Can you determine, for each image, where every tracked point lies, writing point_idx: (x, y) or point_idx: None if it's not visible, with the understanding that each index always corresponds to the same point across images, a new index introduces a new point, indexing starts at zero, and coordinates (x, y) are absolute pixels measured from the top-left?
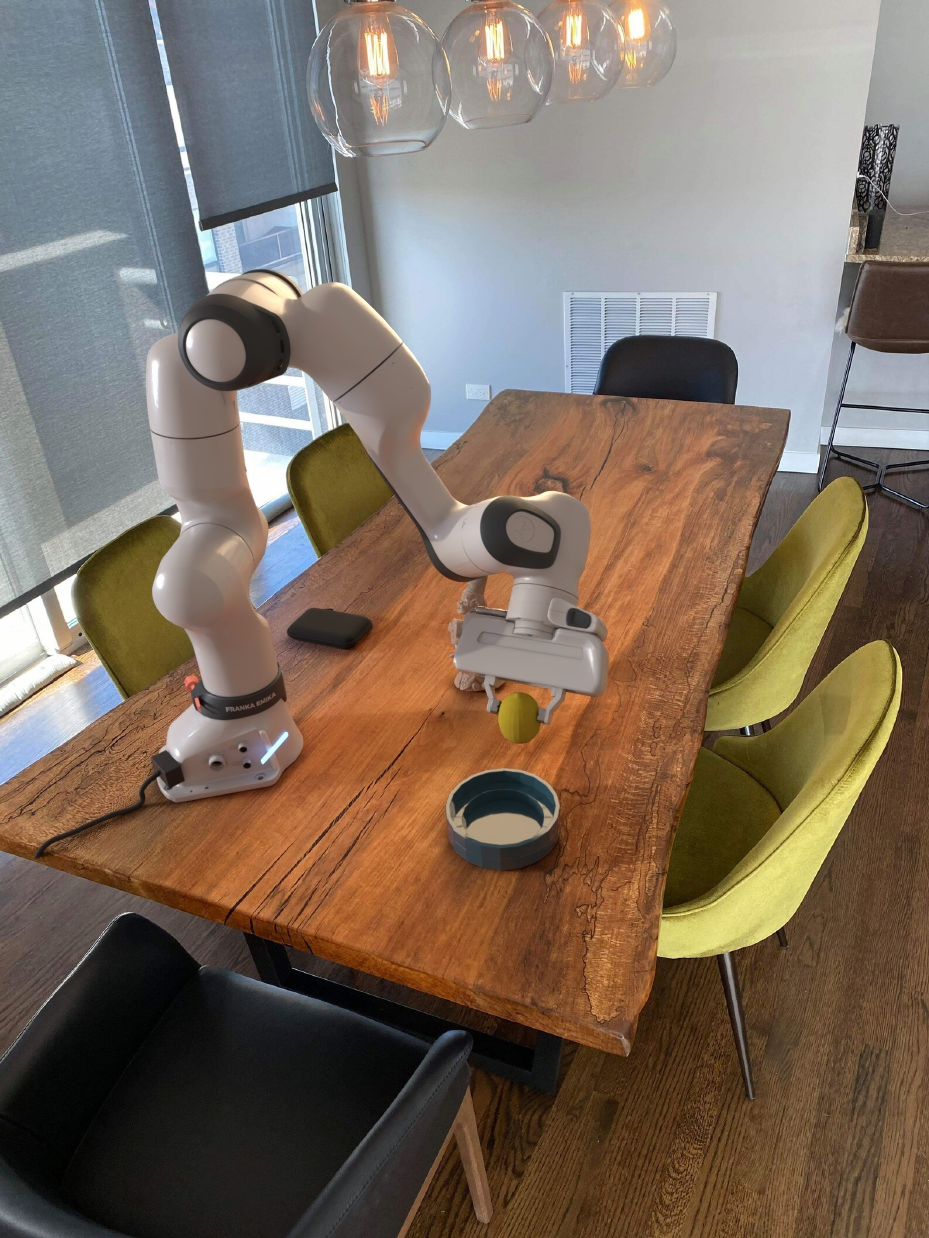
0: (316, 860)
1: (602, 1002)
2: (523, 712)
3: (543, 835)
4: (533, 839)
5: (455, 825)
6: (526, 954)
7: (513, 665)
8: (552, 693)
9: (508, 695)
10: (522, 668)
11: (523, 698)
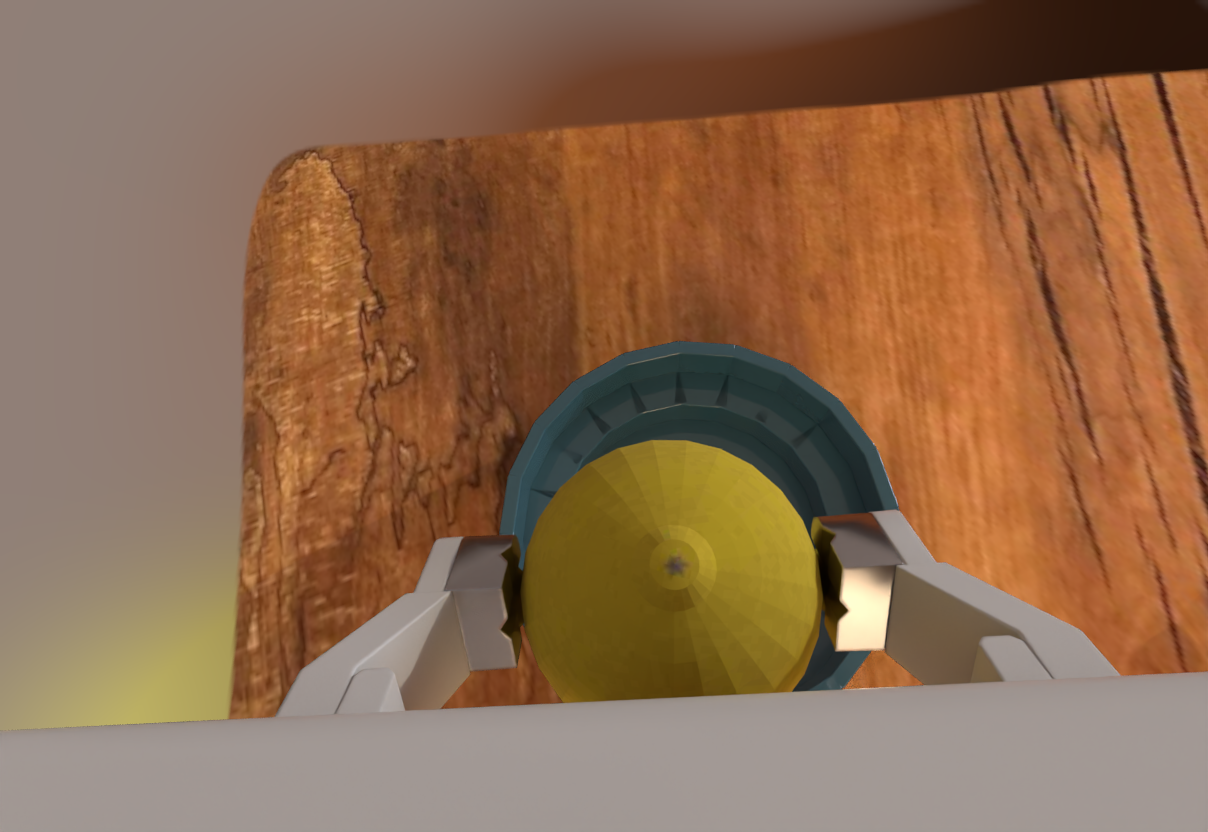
0: (1102, 246)
1: (313, 185)
2: (590, 475)
3: (520, 452)
4: (541, 419)
5: (794, 382)
6: (484, 218)
7: (880, 821)
8: (375, 684)
9: (782, 597)
10: (733, 806)
11: (622, 555)
